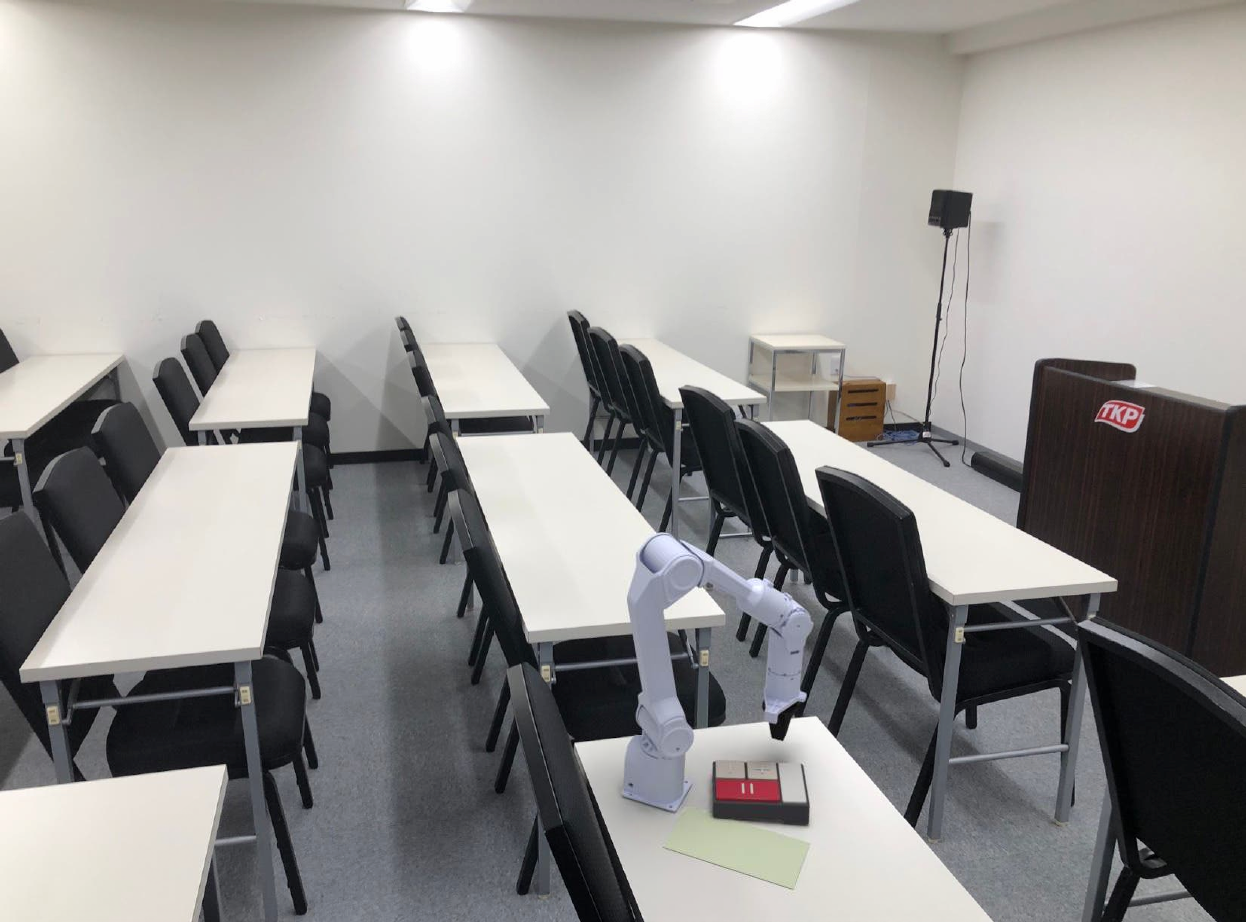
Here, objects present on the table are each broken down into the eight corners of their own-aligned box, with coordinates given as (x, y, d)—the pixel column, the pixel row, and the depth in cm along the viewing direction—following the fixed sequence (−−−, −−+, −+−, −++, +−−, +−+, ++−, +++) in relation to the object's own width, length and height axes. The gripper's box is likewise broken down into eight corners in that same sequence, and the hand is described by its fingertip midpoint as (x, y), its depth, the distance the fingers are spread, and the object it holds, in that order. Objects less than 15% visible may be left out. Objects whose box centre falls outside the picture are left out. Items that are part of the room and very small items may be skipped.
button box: (712, 756, 158) (803, 759, 157) (712, 778, 159) (802, 781, 158) (712, 798, 147) (810, 801, 146) (712, 821, 149) (809, 825, 147)
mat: (662, 847, 142) (662, 846, 142) (686, 806, 151) (686, 805, 151) (793, 889, 135) (793, 888, 135) (810, 843, 144) (810, 842, 144)
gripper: (797, 694, 149) (790, 767, 153) (817, 652, 161) (811, 721, 166) (753, 683, 151) (748, 756, 156) (777, 643, 164) (772, 711, 168)
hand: (778, 737), depth 161 cm, fingers closed
